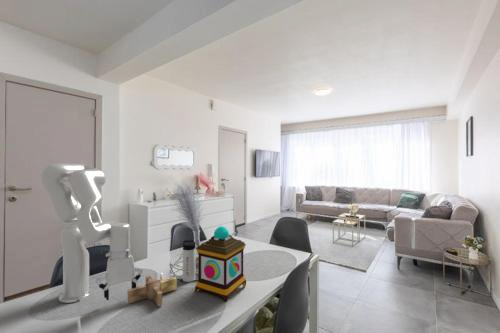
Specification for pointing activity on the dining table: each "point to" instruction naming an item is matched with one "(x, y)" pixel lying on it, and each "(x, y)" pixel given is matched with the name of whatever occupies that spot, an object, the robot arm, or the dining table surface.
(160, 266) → the dining table surface
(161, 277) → the window posts
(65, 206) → the robot arm
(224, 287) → the decorative lantern
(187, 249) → the travel mug
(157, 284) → the wooden cross piece
